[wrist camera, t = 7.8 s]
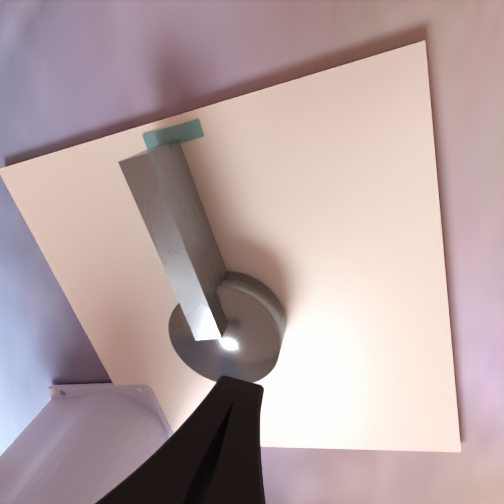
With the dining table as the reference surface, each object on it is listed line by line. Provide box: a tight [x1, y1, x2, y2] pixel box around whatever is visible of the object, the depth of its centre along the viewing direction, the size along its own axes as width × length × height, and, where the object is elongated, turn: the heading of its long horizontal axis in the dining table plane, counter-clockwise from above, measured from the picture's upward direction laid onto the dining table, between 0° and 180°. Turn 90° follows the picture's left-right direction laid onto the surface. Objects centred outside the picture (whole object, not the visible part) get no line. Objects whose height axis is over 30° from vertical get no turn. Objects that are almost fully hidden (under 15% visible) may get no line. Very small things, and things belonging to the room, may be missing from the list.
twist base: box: [0, 40, 461, 452], centre depth 22 cm, size 22×22×1 cm
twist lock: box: [118, 139, 286, 383], centre depth 19 cm, size 13×6×3 cm, turn 18°
